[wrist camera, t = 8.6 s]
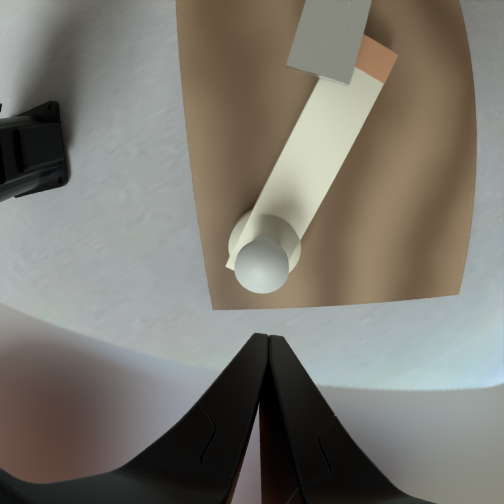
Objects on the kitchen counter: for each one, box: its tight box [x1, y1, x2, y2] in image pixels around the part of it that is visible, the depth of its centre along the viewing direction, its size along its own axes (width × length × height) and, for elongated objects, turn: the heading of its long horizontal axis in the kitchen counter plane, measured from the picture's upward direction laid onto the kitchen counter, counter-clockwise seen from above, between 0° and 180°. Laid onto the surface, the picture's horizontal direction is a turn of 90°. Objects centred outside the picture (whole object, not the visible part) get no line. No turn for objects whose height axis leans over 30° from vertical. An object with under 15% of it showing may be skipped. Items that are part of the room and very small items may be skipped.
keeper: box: [286, 0, 372, 87], centre depth 12 cm, size 3×7×3 cm, turn 165°
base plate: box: [176, 0, 477, 310], centre depth 16 cm, size 18×22×1 cm
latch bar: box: [225, 34, 398, 294], centre depth 15 cm, size 15×4×4 cm, turn 155°
